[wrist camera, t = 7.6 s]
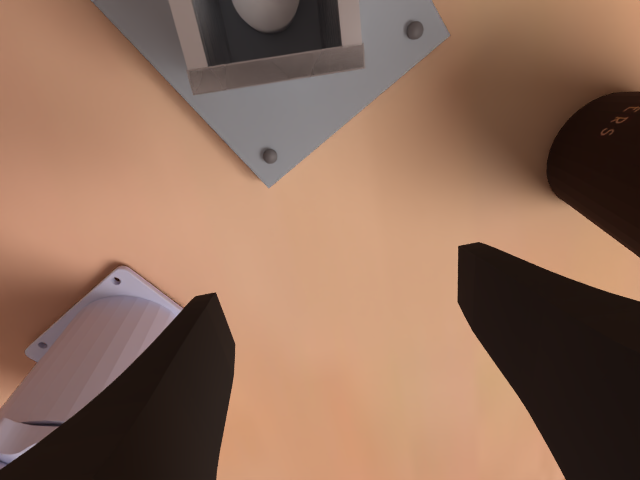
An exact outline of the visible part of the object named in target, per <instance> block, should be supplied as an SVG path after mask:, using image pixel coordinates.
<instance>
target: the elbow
mask: <svg viewBox="0 0 640 480" xmlns="http://www.w3.org/2000/svg"><path fill="white" fill-rule="evenodd" d="M168 1H169V4H170V8H171V11H172V15H173V19H174V22H175V26H176V29H177V33H178V37H179V40H180V44H181V47H182V51H183V54H184V58H185V62H186V65H187V69H188V70H186V72H187V75H188V79H189V82H190V86H191V89H192V93H193V95H199V94H205V93H212V92H218V91H225V90H231V89H237V88H244V87H250V86H257V85H263V84H270V83H276V82H282V81H289V80H295V79H302V78H308V77H314V76H321V75H327V74H334V73H340V72H346V71H353V70H359V69H366V68H365V54H364V43H362V35H361V21H360V7H359V0H317V8H318V16H319V25H320V33H321V42H322V49H319V50H313V51H306V52H300V53H293V54H287V55H281V56H274V57H268V58H261V59H255V60H248V61H242V62H235V63H233V61H232V56H231V52H230V47H229V43H228V38H227V34H226V30H225V25H224V21H223V16H222V12H221V7H220V3H219V0H168Z"/></svg>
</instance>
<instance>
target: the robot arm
mask: <svg viewBox="0 0 640 480" xmlns="http://www.w3.org/2000/svg"><path fill="white" fill-rule="evenodd" d="M114 277H117V278H119V279H120V280H121V281H117V280H115V279H114ZM458 304H459V306H460V308H461V310H462V312H463V314H464V316H465V318H466V320H467V321H468V323H469V325H470V327H471V329H472V331H473V332H474V334H475V335H476V337H477V338H478V340H479V341H480V342H481V344H482V345H483V347H484V348H485V350H486V351H487V353H488V354H489V355H490V357H491V358H492V360H493V361H494V362H495V364H496V365H497V367H498V368H499V369H500V371H501V372H502V374H503V375H504V377H505V378H506V379H507V381H508V382H509V384H510V385H511V386H512V388H513V389H514V391H515V392H516V394H517V395H518V396H519V398H520V400H521V401H522V403H523V404H524V406H525V407H526V409H527V410H528V412H529V414H530V416H531V417H532V419H533V421H534V423H535V424H536V426H537V428H538V430H539V431H540V433H541V435H542V437H543V438H544V440H545V442H546V444H547V445H548V447H549V449H550V451H551V453H552V455H553V456H554V458H555V460H556V462H557V464H558V466H559V468H560V469H561V471H562V473H563V475H564V477H565V479H566V480H640V302H639V301H636V300H633V299H629V298H626V297H623V296H619V295H616V294H612V293H609V292H606V291H603V290H600V289H597V288H594V287H591V286H589V285H586V284H583V283H580V282H577V281H575V280H572V279H569V278H566V277H564V276H561V275H559V274H556V273H554V272H551V271H549V270H546V269H544V268H541V267H539V266H536V265H534V264H532V263H529V262H527V261H525V260H522V259H520V258H518V257H515V256H513V255H511V254H508V253H506V252H503V251H501V250H499V249H496V248H494V247H491V246H489V245H486V244H483V243H480V242H477V243H472V244H467V245H461V246H458ZM43 342H44V343H43ZM45 343H46V344H45ZM25 354H26V356H27V357H29V358H30V359H32V360H34V361H36V362H37V363H36V365H35V366H34V367H33V368H32V370H31V371H30V372H29V373H28V375H27V376H26V377H25V378H24V380H23V381H22V382H21V383H20V385H19V386H18V387H17V388H16V390H15V391H14V392H13V393H12V395H11V396H10V397H9V398H8V400H7V401H6V402H5V403H4V405H3V406H2V407H1V408H0V480H216V475H217V467H218V460H219V453H220V447H221V442H222V437H223V432H224V426H225V421H226V416H227V410H228V405H229V400H230V394H231V389H232V383H233V377H234V363H235V342H234V340H233V337H232V334H231V332H230V329H229V326H228V324H227V321H226V318H225V315H224V313H223V310H222V307H221V305H220V302H219V299H218V297H217V294H216V292H215V293H210V294H205V295H200V296H195V297H194V298H193V299H192V300H191V301H190V302H189V303H188V304H187V305H186V306H185V307H184V309H183V308H182V307H181V306H179V305H178V304H177V303H175V302H174V301H173V300H171V299H170V298H169V297H167V296H166V295H165V294H163V293H162V292H161V291H159V290H158V289H157V288H155V287H154V286H153V285H151V284H150V283H149V282H147V281H146V280H145V279H143V278H142V277H141V276H140V275H138V274H137V273H136V272H134V271H133V270H132V269H130V268H129V267H127V266H119V267H117V268H116V269H114V270H113V271H112V272H111V273H110V274H109V275H108V276H107V277H105V278H104V279H103V280H102V281H101V282H100V283H99V284H98V285H96V286H95V287H94V288H93V289H92V290H91V291H90V292H89V293H87V294H86V295H85V296H84V297H83V298H82V299H81V300H80V301H78V302H77V303H76V304H75V305H74V306H73V307H72V308H71V309H69V310H68V311H67V312H66V313H65V314H64V315H63V316H62V317H60V318H59V319H58V320H57V321H56V322H55V323H54V324H53V325H51V326H50V327H49V328H48V329H47V330H46V331H45V332H44V333H42V334H41V335H40V336H39V337H38V338H37V339H36V340H35V341H33V342H32V343H31V344H30V345H29V346H28V347H27V348H26V350H25Z"/></svg>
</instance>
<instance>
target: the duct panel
mask: <svg viewBox="0 0 640 480" xmlns="http://www.w3.org/2000/svg"><path fill="white" fill-rule="evenodd" d="M91 1H92V2H93V3H94V4H95V5H96V6H97V7H98V8H99V9H100V10H101V11H102V13H103V14H104V15H105V16H106V17H107V18H108V19H109V20H110V21H111V22H112V23H113V24H114V25H115V26H116V27H117V28H118V29H119V31H120V32H121V33H122V34H123V35H124V36H125V37H126V38H127V39H128V40H129V41H130V42H131V43H132V44H133V45H134V46H135V47H136V48H137V50H138V51H139V52H140V53H141V54H142V55H143V56H144V57H145V58H146V59H147V60H148V61H149V62H150V63H151V64H152V65H153V66H154V67H155V69H156V70H157V71H158V72H159V73H160V74H161V75H162V76H163V77H164V78H165V79H166V80H167V81H168V82H169V83H170V84H171V85H172V87H173V88H174V89H175V90H176V91H177V92H178V93H179V94H180V95H181V96H182V97H183V98H184V99H185V100H186V101H187V102H188V103H189V104H190V106H191V107H192V108H193V109H194V110H195V111H196V112H197V113H198V114H199V115H200V116H201V117H202V118H203V119H204V120H205V121H206V122H207V123H208V125H209V126H210V127H211V128H212V129H213V130H214V131H215V132H216V133H217V134H218V135H219V136H220V137H221V138H222V139H223V140H224V141H225V143H226V144H227V145H228V146H229V147H230V148H231V149H232V150H233V151H234V152H235V153H236V154H237V155H238V156H239V157H240V158H241V159H242V160H243V162H244V163H245V164H246V165H247V166H248V167H249V168H250V169H251V170H252V171H253V172H254V173H255V174H256V175H257V176H258V177H259V178H260V179H261V181H262V182H263V183H264V184H265V185H266V186H267V187H268V188H270V187H271V186H272V185H273V184H275V183H276V182H277V181H278V180H279V179H281V178H282V177H283V176H284V175H285V174H287V173H288V172H289V171H290V170H291V169H292V168H294V167H295V166H296V165H297V164H298V163H300V162H301V161H302V160H303V159H304V158H306V157H307V156H308V155H309V154H310V153H311V152H313V151H314V150H315V149H316V148H317V147H319V146H320V145H321V144H322V143H323V142H325V141H326V140H327V139H328V138H329V137H330V136H332V135H333V134H334V133H335V132H336V131H338V130H339V129H340V128H341V127H342V126H343V125H345V124H346V123H347V122H348V121H349V120H351V119H352V118H353V117H354V116H355V115H357V114H358V113H359V112H360V111H361V110H362V109H364V108H365V107H366V106H367V105H368V104H370V103H371V102H372V101H373V100H374V99H376V98H377V97H378V96H379V95H380V94H381V93H383V92H384V91H385V90H386V89H387V88H389V87H390V86H391V85H392V84H393V83H395V82H396V81H397V80H398V79H399V78H400V77H402V76H403V75H404V74H405V73H406V72H408V71H409V70H410V69H411V68H412V67H414V66H415V65H416V64H417V63H418V62H419V61H421V60H422V59H423V58H424V57H425V56H427V55H428V54H429V53H430V52H431V51H433V50H434V49H435V48H436V47H437V46H438V45H440V44H441V43H442V42H443V41H444V40H446V39H447V38H448V37H449V36H450V34H449V32H448V30H447V28H446V26H445V24H444V23H443V21H442V19H441V17H440V15H439V13H438V11H437V9H436V8H435V6H434V4H433V2H432V0H359V7H360V21H361V35H362V43H364V54H365V68H366V69H359V70H353V71H346V72H340V73H334V74H327V75H321V76H314V77H308V78H302V79H295V80H289V81H282V82H276V83H270V84H263V85H257V86H250V87H244V88H237V89H231V90H225V91H218V92H212V93H205V94H199V95H193V93H192V89H191V86H190V82H189V79H188V75H187V72H186V70H188V69H187V65H186V62H185V58H184V54H183V51H182V47H181V44H180V40H179V37H178V33H177V29H176V26H175V22H174V19H173V15H172V11H171V8H170V4H169V1H168V0H91ZM219 3H220V7H221V12H222V16H223V21H224V25H225V30H226V34H227V38H228V43H229V47H230V52H231V56H232V61H233V63H235V62H242V61H248V60H255V59H261V58H268V57H274V56H281V55H287V54H293V53H300V52H306V51H313V50H319V49H322V42H321V33H320V25H319V16H318V8H317V0H219Z"/></svg>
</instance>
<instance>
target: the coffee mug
mask: <svg viewBox="0 0 640 480" xmlns="http://www.w3.org/2000/svg"><path fill="white" fill-rule="evenodd" d="M547 177H548V182H549V184H550V187H551V189H552V190H553V192H554V193H555V194H556V195H557V196H558V197H559V198H560V199H562V200H563V201H564V202H566V203H567V204H569V205H570V206H571V207H573V208H574V209H575V210H577V211H578V212H579V213H581V214H582V215H583V216H585V217H586V218H587V219H589V220H590V221H591V222H593V223H594V224H595V225H597V226H598V227H599V228H601V229H602V230H604V231H605V232H606V233H608V234H609V235H610V236H612V237H613V238H614V239H616V240H617V241H618V242H620V243H621V244H622V245H624V246H625V247H626V248H628V249H629V250H630V251H632V252H633V253H634V254H636V255H637V256H638V257H640V92H620V93H612V94H609V95H605V96H602V97H600V98H598V99H596V100H593V101H591V102H590V103H588V104H587V105H585V106H584V107H582V108H581V109H580V110H578V111H577V112H576V113H575V114H574V115H573V116H572V117H571V118H570V119H569V120H568V121H567V122H566V124H565V125H564V126H563V127H562V128H561V130H560V131H559V133H558V135H557V136H556V138H555V140H554V142H553V144H552V147H551V149H550V152H549V156H548V160H547Z"/></svg>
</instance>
